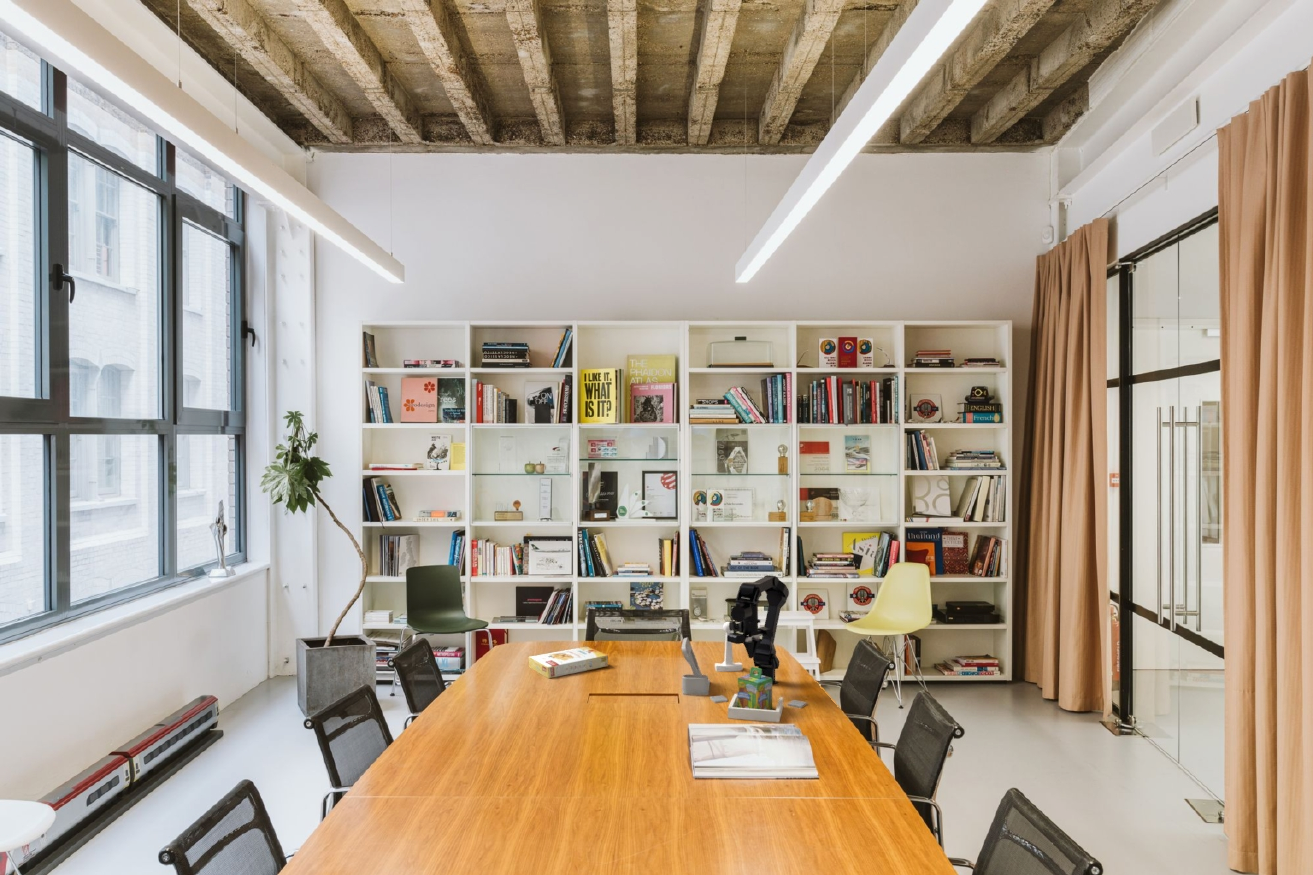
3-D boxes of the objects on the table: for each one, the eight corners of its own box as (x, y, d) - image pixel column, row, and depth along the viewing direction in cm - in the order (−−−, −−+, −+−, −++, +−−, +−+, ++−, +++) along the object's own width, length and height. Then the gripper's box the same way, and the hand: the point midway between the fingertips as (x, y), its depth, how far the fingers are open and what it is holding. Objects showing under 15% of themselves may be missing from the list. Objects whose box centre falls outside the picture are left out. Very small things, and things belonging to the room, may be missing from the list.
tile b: (722, 698, 285) (722, 695, 285) (727, 702, 280) (727, 699, 280) (710, 699, 284) (710, 696, 284) (714, 704, 279) (714, 700, 279)
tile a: (793, 702, 279) (793, 699, 279) (806, 705, 277) (806, 702, 277) (787, 707, 275) (787, 703, 275) (800, 709, 273) (800, 706, 273)
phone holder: (708, 695, 287) (708, 647, 287) (681, 695, 288) (680, 646, 288) (709, 681, 304) (709, 635, 304) (684, 680, 305) (684, 635, 305)
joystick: (716, 671, 316) (715, 623, 316) (713, 666, 324) (713, 618, 324) (743, 671, 317) (742, 622, 317) (739, 665, 324) (739, 618, 324)
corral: (734, 703, 278) (734, 693, 278) (783, 707, 274) (783, 697, 274) (727, 718, 263) (727, 707, 263) (779, 722, 259) (779, 711, 259)
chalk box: (736, 710, 271) (736, 668, 271) (751, 704, 277) (751, 663, 277) (758, 716, 264) (758, 673, 264) (773, 709, 271) (773, 667, 271)
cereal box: (609, 654, 324) (548, 665, 309) (609, 667, 324) (548, 679, 309) (586, 644, 341) (527, 655, 326) (586, 657, 341) (527, 668, 325)
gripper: (753, 609, 302) (754, 649, 302) (717, 616, 291) (717, 657, 291) (774, 614, 293) (774, 655, 293) (737, 621, 282) (737, 664, 282)
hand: (750, 657), depth 290 cm, fingers closed
